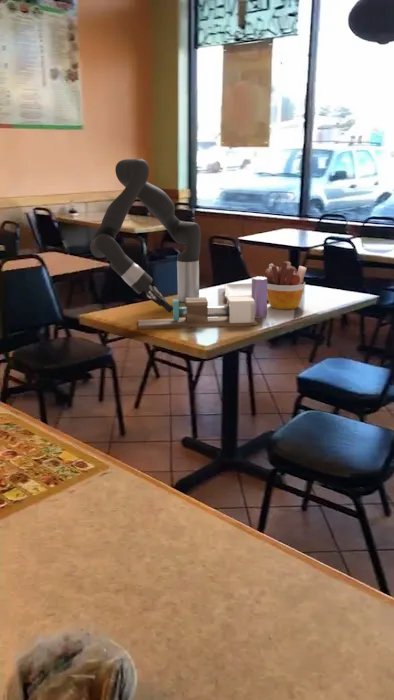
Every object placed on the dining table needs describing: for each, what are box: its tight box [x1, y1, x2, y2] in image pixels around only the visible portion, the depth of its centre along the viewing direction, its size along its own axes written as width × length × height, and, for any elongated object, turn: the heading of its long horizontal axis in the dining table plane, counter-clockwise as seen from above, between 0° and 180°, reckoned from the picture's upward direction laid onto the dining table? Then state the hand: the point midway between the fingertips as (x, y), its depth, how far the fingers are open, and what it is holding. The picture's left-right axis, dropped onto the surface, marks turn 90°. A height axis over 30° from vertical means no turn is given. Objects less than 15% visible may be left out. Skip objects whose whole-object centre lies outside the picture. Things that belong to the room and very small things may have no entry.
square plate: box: [224, 282, 269, 303], centre depth 281 cm, size 27×27×4 cm
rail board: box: [138, 296, 258, 330], centre depth 233 cm, size 10×43×9 cm, turn 94°
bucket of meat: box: [264, 261, 307, 311], centre depth 257 cm, size 20×16×20 cm
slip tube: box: [172, 298, 229, 321], centre depth 233 cm, size 25×5×7 cm, turn 94°
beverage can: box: [251, 276, 268, 319], centre depth 242 cm, size 6×6×15 cm
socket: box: [226, 296, 255, 323], centre depth 234 cm, size 9×9×8 cm
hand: (171, 310), depth 232 cm, fingers closed
